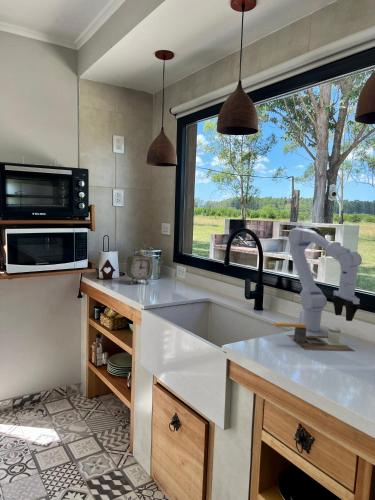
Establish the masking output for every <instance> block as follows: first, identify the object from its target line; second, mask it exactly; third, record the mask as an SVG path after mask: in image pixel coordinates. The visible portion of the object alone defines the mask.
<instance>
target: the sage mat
mask: <svg viewBox="0 0 375 500" xmlns="http://www.w3.org/2000/svg"><path fill="white" fill-rule="evenodd" d="M320 339H321V340H322V341H324V342H325V343H327V344H328V345H338V346H348V344H346V343H345V342H343V341H342V340H340V339H339V343H331V342H329V341H328V338H320Z"/></svg>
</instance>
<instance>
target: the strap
mask: <svg viewBox="0 0 375 500" xmlns="http://www.w3.org/2000/svg"><path fill="white" fill-rule="evenodd" d="M306 326H307V325H306V324H304V323H299V322H278V321H277V322H274V327H278V328H279V327H280V328H295V327H300V328H306Z"/></svg>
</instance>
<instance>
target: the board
mask: <svg viewBox="0 0 375 500" xmlns="http://www.w3.org/2000/svg"><path fill="white" fill-rule="evenodd" d="M286 336H287V337H289V338H290V339H291V340H292V341H293V342H294V343H296V344H297V345H298V346H300V347H301V348H302V349H303V350H305V351H323V352H324V351H325V352H326V351H328V352H356V350H354V349H353V348H352V347H350V346H348V345H347V346H338V345H328V344H327V343H325V342H324V341H322V340H321V339H320V338H328V335H307V330H306V328H300V327H294V334H286Z"/></svg>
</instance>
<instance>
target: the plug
mask: <svg viewBox="0 0 375 500" xmlns="http://www.w3.org/2000/svg"><path fill="white" fill-rule="evenodd" d="M327 336H328V341H329V342H331V343H339V340H340V336H341V328H339V327H336V326H329V327H328V333H327Z"/></svg>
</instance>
